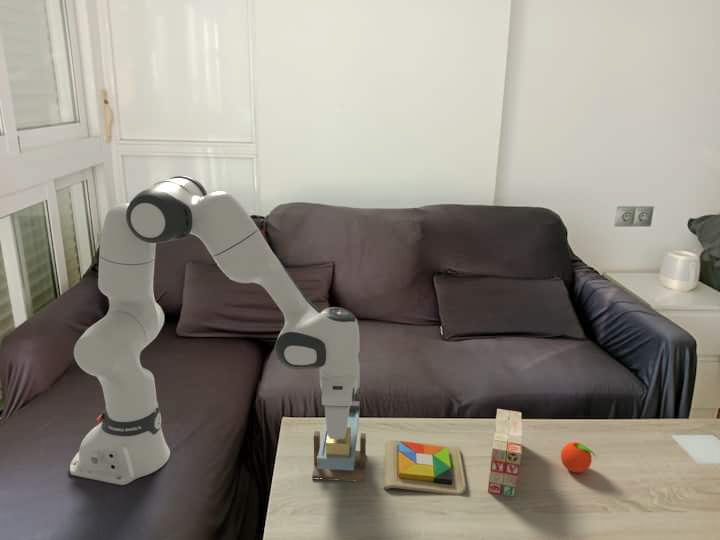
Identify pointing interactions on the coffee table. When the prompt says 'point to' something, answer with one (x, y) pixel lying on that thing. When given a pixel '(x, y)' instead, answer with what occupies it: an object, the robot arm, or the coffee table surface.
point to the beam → (348, 462)
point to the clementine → (576, 457)
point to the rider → (339, 445)
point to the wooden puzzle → (423, 467)
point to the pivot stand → (341, 474)
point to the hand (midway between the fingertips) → (340, 431)
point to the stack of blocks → (506, 453)
